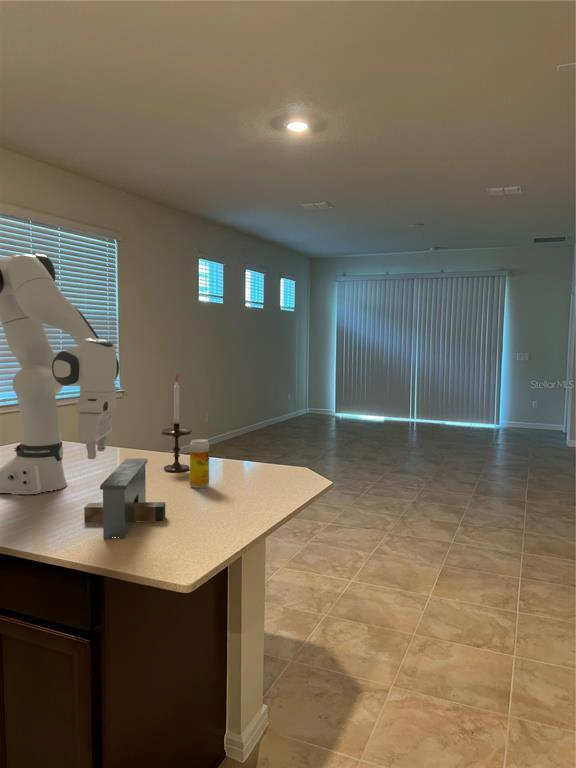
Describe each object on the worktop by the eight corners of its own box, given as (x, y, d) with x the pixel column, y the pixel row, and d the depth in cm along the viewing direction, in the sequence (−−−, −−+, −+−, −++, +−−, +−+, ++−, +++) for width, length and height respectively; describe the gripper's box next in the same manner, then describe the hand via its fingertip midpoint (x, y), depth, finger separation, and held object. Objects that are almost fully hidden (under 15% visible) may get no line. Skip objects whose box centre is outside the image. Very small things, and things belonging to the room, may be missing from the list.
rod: (84, 522, 141) (84, 507, 141) (88, 517, 145) (88, 502, 145) (163, 521, 143) (163, 506, 142) (165, 516, 147) (165, 502, 146)
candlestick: (196, 470, 198) (196, 374, 195) (168, 474, 192) (167, 374, 189) (184, 464, 207) (184, 372, 204) (156, 468, 201) (156, 372, 198)
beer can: (205, 489, 174) (205, 442, 172) (187, 488, 175) (187, 441, 174) (211, 484, 180) (211, 439, 178) (194, 483, 181) (194, 438, 180)
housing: (100, 539, 129) (100, 485, 128) (126, 502, 158) (126, 458, 157) (126, 539, 130) (126, 485, 129) (147, 502, 159) (147, 458, 158)
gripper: (95, 396, 151) (94, 446, 152) (73, 406, 131) (72, 463, 132) (118, 397, 152) (117, 447, 153) (100, 407, 132) (99, 463, 133)
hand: (96, 454), depth 142 cm, fingers open, 8 cm apart
